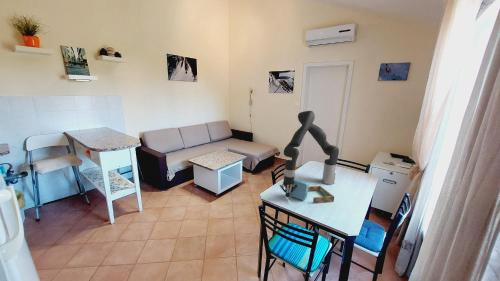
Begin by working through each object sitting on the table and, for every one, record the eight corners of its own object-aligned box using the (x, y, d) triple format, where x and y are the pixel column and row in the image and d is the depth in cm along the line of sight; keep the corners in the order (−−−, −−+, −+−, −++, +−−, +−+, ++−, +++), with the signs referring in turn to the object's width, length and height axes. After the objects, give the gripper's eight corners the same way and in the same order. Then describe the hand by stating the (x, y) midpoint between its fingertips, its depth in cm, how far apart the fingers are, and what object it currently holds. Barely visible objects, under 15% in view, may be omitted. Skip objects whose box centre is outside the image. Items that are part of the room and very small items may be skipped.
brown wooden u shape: (319, 190, 162) (320, 185, 162) (333, 201, 145) (334, 196, 145) (301, 191, 159) (302, 186, 158) (313, 203, 142) (314, 198, 141)
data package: (306, 199, 147) (309, 183, 146) (304, 200, 143) (307, 184, 142) (291, 194, 153) (293, 179, 153) (288, 195, 150) (291, 179, 149)
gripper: (295, 172, 148) (293, 193, 152) (278, 173, 145) (277, 195, 149) (300, 176, 141) (297, 198, 144) (282, 177, 138) (280, 200, 141)
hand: (287, 196), depth 147 cm, fingers closed
